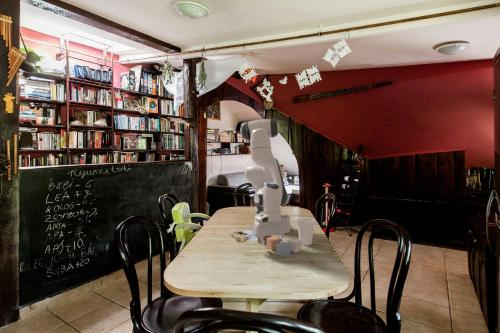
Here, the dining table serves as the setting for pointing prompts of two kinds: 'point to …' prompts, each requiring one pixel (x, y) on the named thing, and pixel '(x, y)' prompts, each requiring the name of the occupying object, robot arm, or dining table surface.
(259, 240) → the walnut cube
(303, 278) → the dining table surface
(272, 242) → the terracotta cube
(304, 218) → the foam cup
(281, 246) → the slate blue cube
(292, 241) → the pale grey cube
